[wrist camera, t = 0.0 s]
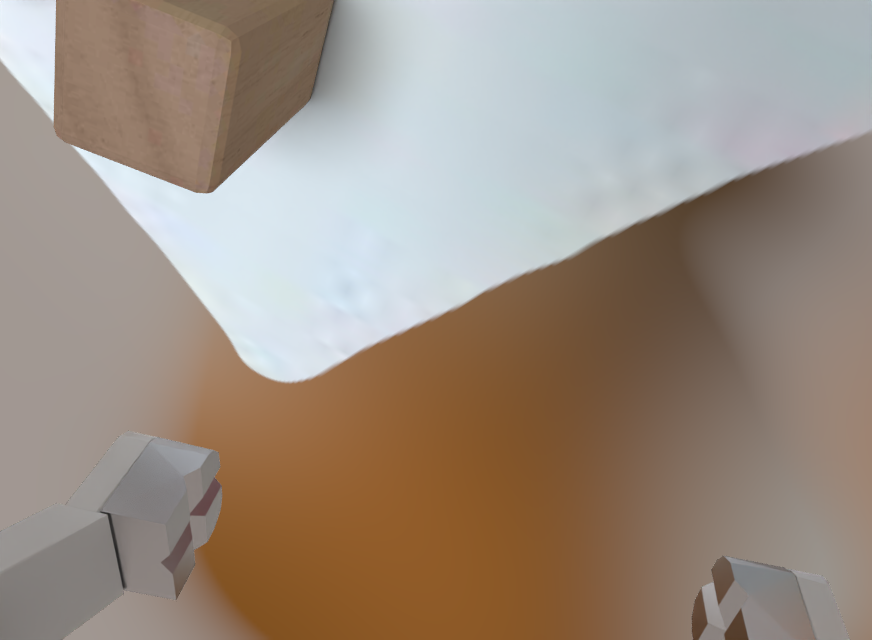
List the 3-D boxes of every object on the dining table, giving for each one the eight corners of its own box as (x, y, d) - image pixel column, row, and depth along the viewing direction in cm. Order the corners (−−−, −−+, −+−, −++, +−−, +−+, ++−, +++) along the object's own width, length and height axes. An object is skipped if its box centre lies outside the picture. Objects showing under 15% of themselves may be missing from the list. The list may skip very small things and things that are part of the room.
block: (196, 60, 57) (45, 142, 41) (214, -71, 51) (47, -39, 35) (311, 106, 58) (209, 204, 41) (341, -19, 52) (237, 37, 36)
